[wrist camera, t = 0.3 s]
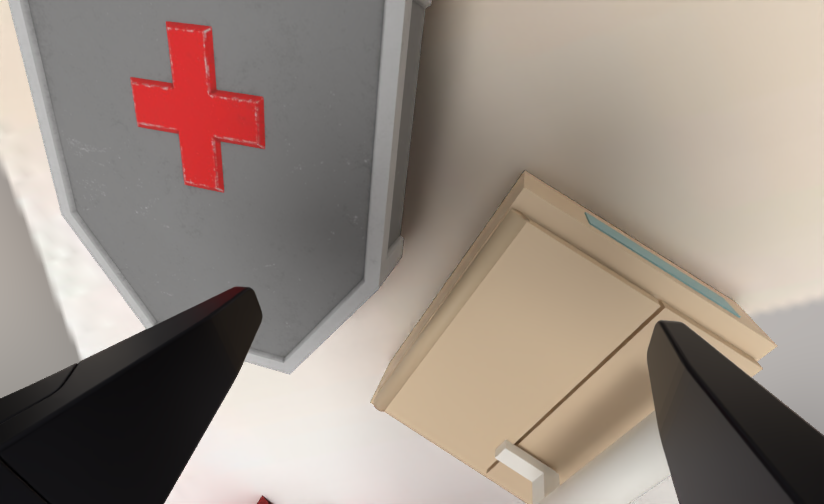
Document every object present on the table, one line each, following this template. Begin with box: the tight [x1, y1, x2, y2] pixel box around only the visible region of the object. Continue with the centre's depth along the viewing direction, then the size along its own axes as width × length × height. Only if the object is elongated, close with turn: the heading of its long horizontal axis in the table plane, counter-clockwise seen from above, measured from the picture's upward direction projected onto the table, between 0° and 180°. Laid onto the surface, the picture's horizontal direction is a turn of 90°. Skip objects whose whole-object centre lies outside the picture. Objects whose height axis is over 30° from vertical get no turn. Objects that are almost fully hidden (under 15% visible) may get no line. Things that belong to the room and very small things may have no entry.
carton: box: [370, 171, 777, 504], centre depth 23 cm, size 16×13×5 cm
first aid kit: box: [8, 0, 432, 374], centre depth 20 cm, size 18×8×25 cm
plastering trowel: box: [373, 208, 671, 504], centre depth 19 cm, size 14×11×5 cm
